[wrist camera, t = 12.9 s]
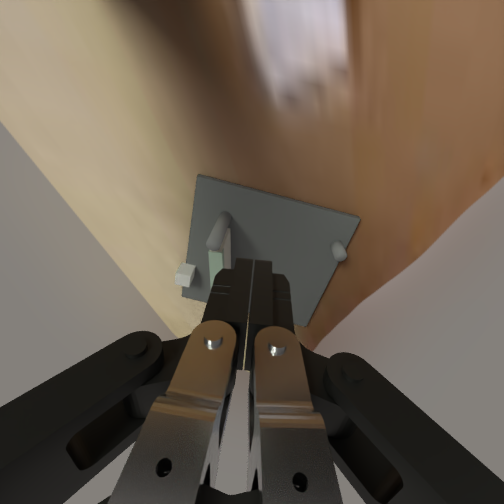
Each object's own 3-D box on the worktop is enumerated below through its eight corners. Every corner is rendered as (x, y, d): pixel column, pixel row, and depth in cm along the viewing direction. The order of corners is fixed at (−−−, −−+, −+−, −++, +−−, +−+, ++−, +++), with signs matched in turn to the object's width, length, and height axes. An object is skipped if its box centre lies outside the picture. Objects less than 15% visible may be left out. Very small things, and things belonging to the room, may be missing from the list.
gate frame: (179, 292, 50) (160, 331, 41) (194, 172, 38) (170, 194, 29) (305, 322, 51) (310, 366, 43) (358, 216, 39) (379, 249, 31)
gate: (219, 227, 40) (208, 252, 34) (231, 228, 40) (222, 253, 34) (222, 300, 48) (213, 331, 41) (231, 301, 47) (224, 332, 41)
